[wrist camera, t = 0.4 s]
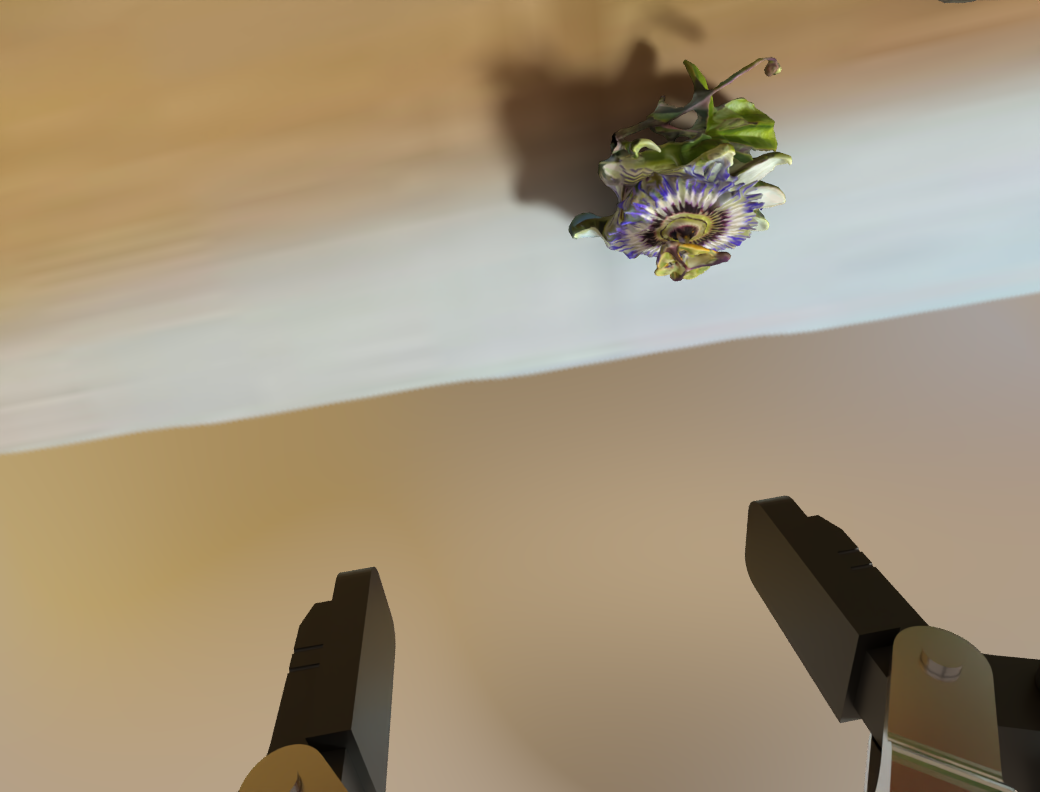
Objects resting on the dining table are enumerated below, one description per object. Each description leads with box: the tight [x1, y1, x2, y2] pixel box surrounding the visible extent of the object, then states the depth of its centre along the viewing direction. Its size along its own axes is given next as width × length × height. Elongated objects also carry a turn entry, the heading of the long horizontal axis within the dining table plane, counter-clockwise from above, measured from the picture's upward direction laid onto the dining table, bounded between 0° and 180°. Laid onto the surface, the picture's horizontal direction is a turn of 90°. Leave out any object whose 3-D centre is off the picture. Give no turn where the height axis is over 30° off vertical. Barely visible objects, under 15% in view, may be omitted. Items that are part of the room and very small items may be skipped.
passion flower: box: [569, 57, 792, 281], centre depth 35 cm, size 11×11×12 cm
